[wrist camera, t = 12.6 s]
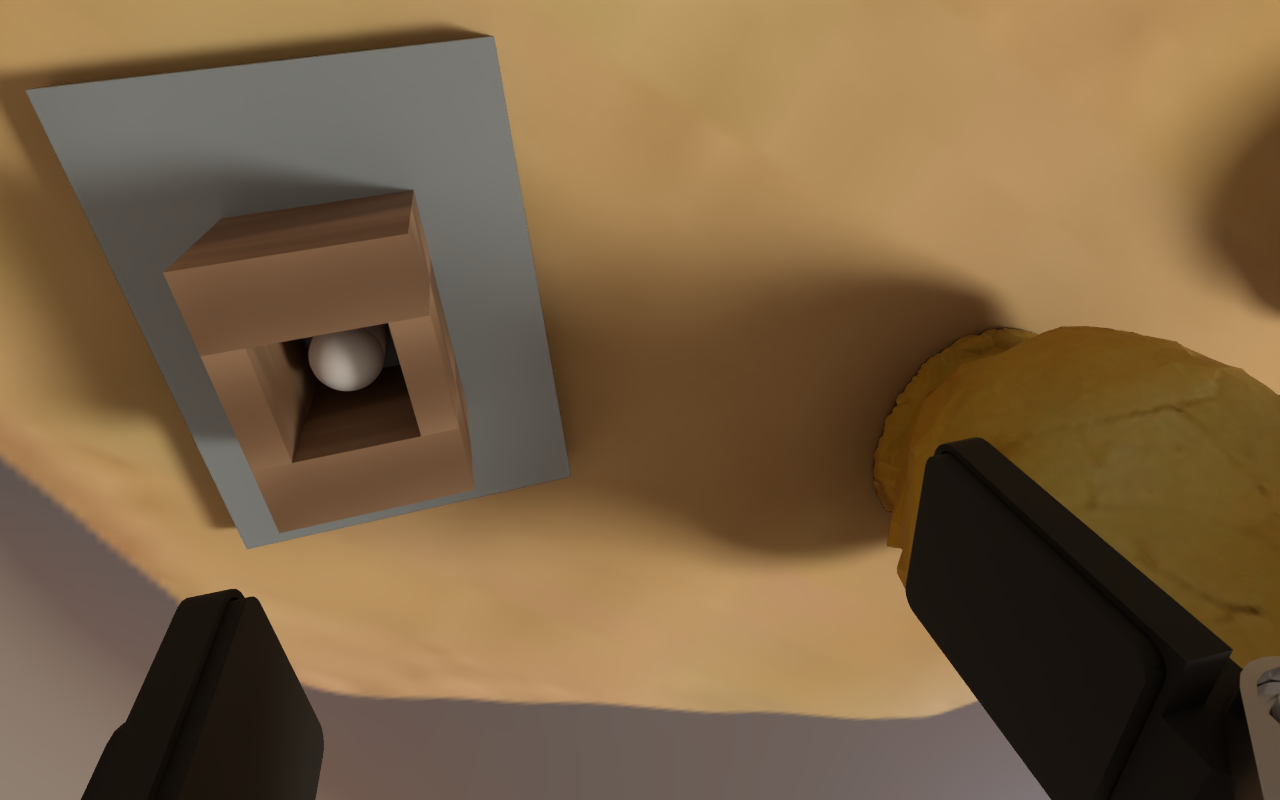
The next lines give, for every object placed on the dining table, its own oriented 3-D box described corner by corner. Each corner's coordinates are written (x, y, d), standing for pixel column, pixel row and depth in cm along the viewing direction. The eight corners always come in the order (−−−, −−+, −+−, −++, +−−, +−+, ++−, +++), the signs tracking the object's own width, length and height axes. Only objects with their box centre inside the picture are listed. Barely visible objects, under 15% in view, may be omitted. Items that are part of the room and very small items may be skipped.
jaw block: (221, 218, 24) (162, 272, 19) (413, 190, 25) (408, 233, 20) (307, 440, 28) (279, 533, 23) (467, 408, 30) (474, 489, 24)
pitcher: (846, 302, 34) (1567, 797, 12) (1167, 263, 37) (2141, 588, 16) (812, 576, 42) (1207, 1159, 20) (1078, 521, 46) (1644, 964, 24)
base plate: (48, 85, 22) (-59, 104, 18) (491, 35, 25) (504, 39, 20) (254, 527, 31) (221, 621, 26) (565, 459, 34) (587, 533, 29)
